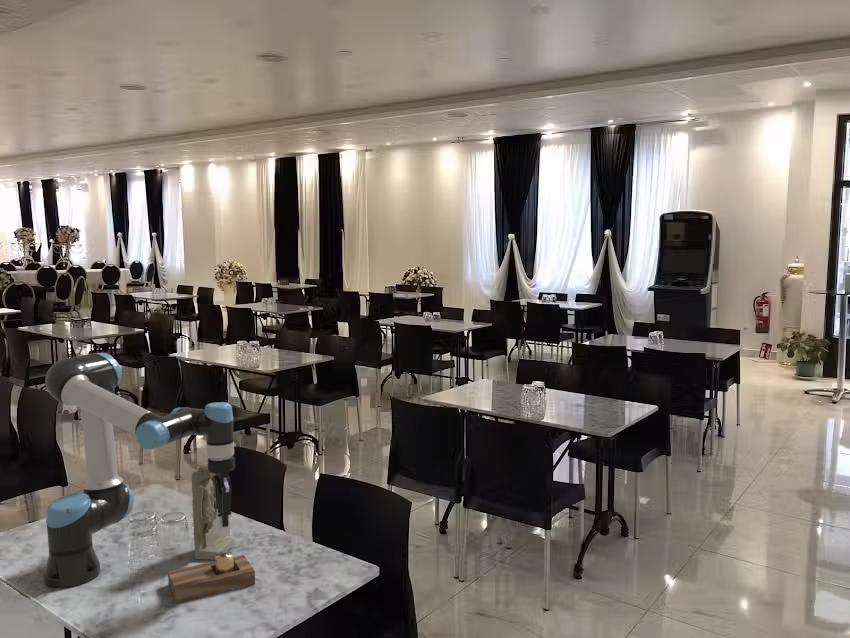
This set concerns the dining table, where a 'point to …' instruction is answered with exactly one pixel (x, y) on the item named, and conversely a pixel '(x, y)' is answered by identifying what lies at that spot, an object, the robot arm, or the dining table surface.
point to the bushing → (224, 562)
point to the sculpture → (206, 517)
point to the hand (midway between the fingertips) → (224, 535)
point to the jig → (209, 579)
